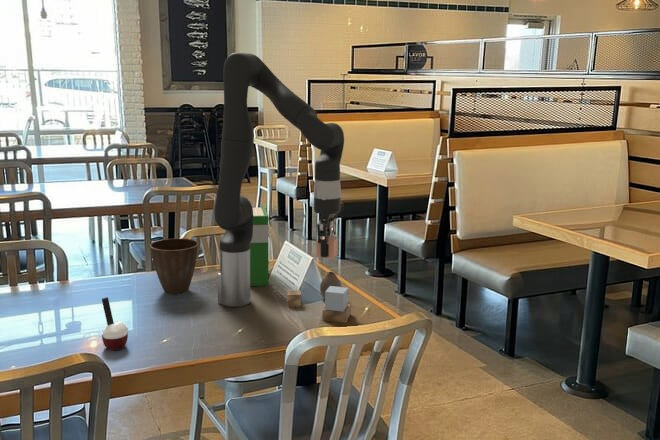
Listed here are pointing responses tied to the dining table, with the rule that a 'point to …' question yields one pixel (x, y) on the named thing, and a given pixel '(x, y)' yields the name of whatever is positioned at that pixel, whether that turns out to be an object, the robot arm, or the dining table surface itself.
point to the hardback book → (259, 248)
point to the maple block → (293, 298)
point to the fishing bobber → (113, 330)
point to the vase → (329, 282)
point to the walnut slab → (337, 315)
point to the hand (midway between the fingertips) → (326, 253)
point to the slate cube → (336, 298)
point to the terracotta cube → (332, 247)
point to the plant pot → (174, 263)
